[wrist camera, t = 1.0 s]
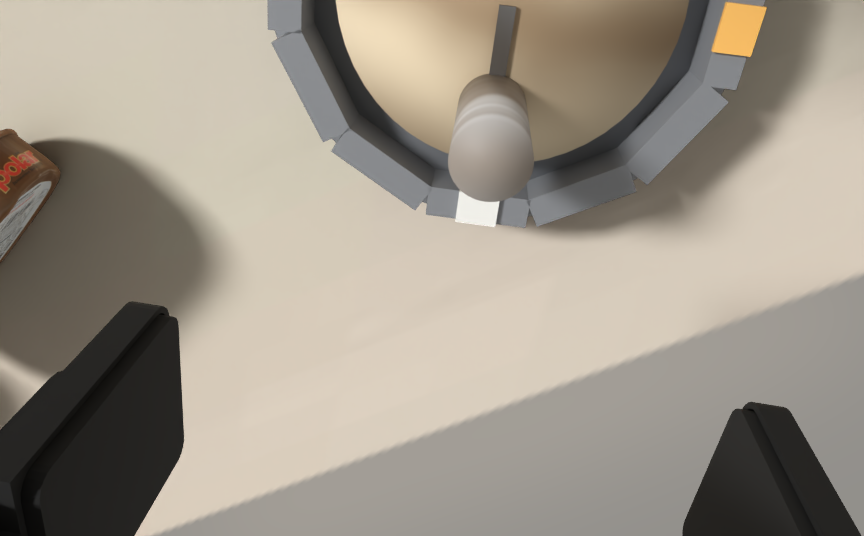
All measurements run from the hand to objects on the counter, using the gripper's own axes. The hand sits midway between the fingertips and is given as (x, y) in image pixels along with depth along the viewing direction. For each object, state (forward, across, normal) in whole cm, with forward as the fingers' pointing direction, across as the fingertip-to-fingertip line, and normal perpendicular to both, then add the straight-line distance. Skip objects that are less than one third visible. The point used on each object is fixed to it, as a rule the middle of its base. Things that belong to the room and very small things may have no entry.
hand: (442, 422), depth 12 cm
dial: (+18, 0, -5) cm, 19 cm away
